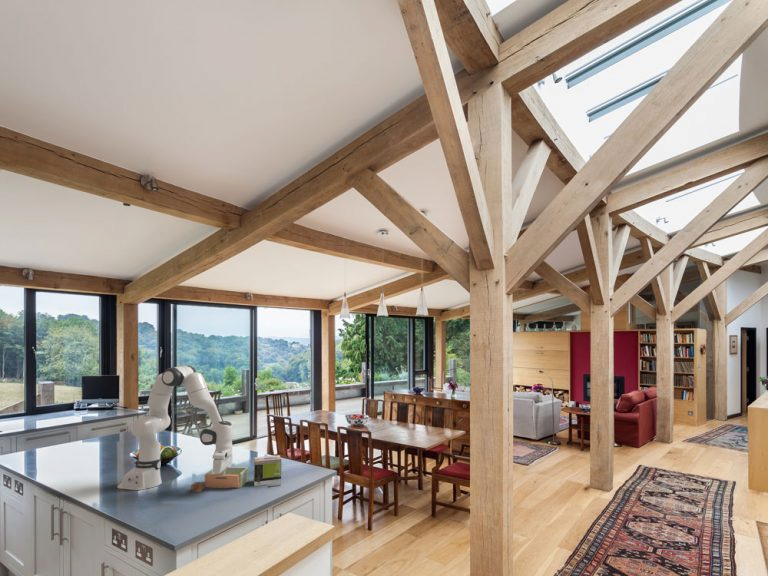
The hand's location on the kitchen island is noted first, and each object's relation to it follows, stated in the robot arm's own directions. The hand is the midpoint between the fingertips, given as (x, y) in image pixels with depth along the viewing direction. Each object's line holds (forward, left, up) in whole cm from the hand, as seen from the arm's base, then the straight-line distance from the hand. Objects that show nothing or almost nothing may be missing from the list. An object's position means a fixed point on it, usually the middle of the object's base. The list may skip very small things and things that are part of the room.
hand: (222, 477), depth 243 cm
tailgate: (0, +1, -6) cm, 6 cm away
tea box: (+22, +11, -7) cm, 25 cm away
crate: (0, +8, -7) cm, 10 cm away
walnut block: (-12, -4, -7) cm, 15 cm away
